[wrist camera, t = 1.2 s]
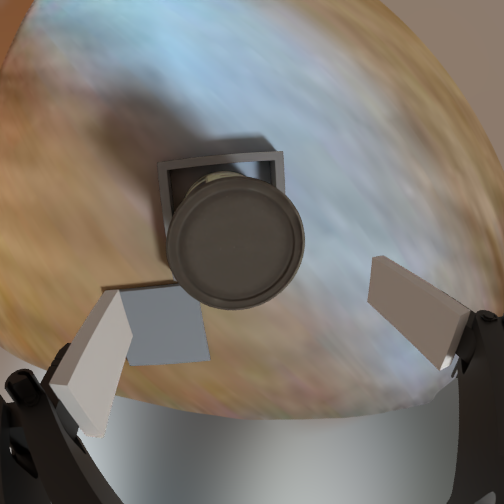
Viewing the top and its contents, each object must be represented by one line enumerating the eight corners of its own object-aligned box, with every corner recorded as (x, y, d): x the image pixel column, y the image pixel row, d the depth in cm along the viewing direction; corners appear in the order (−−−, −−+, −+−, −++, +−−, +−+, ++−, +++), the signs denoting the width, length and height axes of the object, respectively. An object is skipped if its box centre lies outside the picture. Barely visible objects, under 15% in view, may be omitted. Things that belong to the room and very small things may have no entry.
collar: (160, 162, 29) (156, 162, 27) (277, 151, 31) (283, 151, 29) (175, 273, 34) (173, 281, 32) (282, 260, 36) (287, 267, 34)
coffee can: (201, 265, 34) (201, 328, 21) (168, 190, 31) (141, 211, 17) (276, 235, 35) (319, 280, 22) (249, 158, 31) (280, 155, 18)
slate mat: (105, 290, 33) (104, 293, 32) (196, 281, 35) (196, 284, 34) (131, 362, 37) (130, 365, 37) (210, 356, 39) (210, 360, 38)
